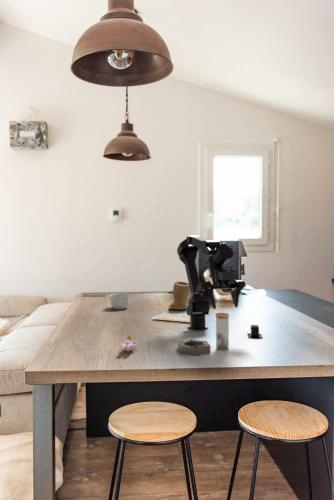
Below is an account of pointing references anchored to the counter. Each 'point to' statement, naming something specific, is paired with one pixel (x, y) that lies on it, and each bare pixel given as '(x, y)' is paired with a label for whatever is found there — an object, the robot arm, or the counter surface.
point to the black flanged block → (254, 332)
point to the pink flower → (129, 344)
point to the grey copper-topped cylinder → (222, 331)
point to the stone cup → (180, 295)
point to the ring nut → (193, 347)
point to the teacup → (120, 300)
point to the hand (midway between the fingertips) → (226, 308)
